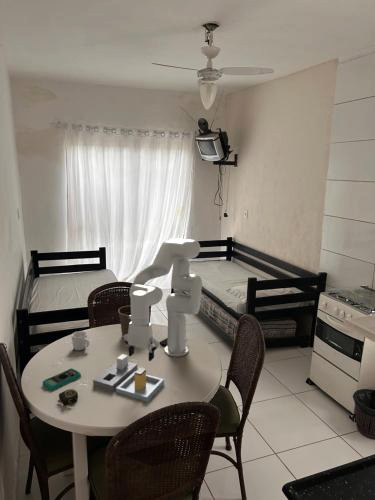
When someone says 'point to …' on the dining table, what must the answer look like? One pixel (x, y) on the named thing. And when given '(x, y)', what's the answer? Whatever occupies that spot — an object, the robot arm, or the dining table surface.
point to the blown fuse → (140, 379)
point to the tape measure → (68, 397)
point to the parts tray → (146, 393)
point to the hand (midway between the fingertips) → (141, 357)
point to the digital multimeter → (61, 379)
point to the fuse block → (114, 377)
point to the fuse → (122, 362)
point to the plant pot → (125, 319)
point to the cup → (80, 340)
